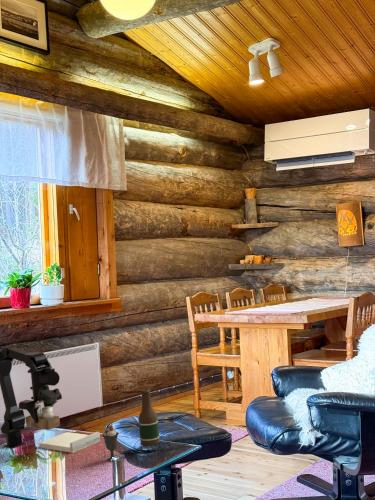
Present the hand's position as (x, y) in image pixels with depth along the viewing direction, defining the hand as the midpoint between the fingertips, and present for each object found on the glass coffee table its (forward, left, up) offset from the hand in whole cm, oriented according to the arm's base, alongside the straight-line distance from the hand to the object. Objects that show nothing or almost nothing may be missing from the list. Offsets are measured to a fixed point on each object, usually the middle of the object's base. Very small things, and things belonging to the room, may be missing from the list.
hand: (42, 421), depth 295 cm
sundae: (+35, +3, -13) cm, 37 cm away
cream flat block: (+3, +11, -13) cm, 17 cm away
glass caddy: (0, 0, -2) cm, 2 cm away
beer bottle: (+41, +19, -13) cm, 47 cm away
